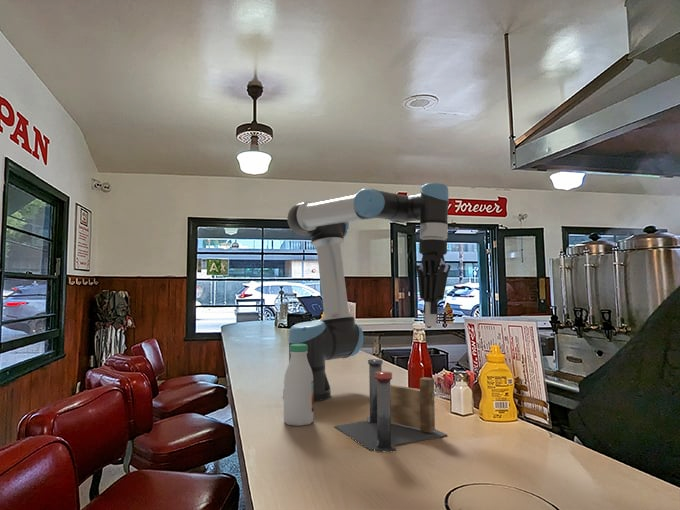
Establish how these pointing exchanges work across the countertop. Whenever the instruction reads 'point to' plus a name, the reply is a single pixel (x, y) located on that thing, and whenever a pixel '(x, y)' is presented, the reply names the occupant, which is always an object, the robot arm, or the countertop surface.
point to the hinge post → (373, 388)
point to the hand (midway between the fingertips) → (430, 326)
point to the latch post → (383, 412)
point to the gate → (414, 405)
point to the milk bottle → (298, 388)
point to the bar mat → (399, 433)
